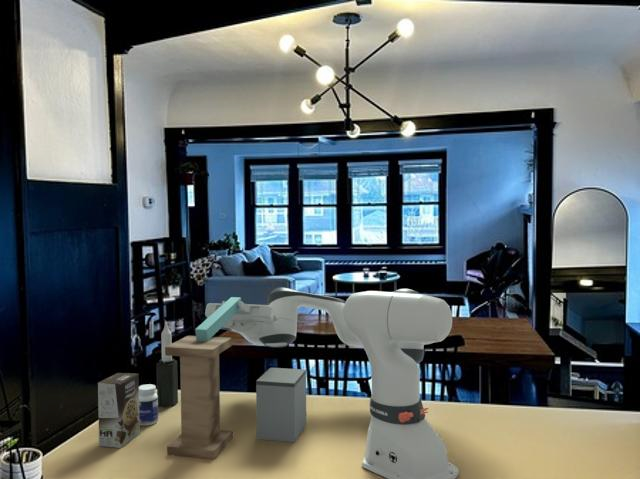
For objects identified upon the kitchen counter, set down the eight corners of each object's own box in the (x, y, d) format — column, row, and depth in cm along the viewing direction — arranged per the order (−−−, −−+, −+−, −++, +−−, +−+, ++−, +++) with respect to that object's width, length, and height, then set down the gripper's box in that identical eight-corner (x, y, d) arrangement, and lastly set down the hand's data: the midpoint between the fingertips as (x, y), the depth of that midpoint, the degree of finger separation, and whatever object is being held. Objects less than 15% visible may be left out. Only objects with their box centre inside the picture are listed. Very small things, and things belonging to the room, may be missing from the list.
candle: (155, 406, 162) (154, 323, 161) (163, 400, 167) (161, 320, 166) (172, 407, 162) (170, 323, 160) (179, 401, 167) (177, 320, 165)
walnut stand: (189, 434, 142) (188, 335, 141) (233, 438, 139) (231, 337, 138) (167, 454, 130) (165, 347, 129) (214, 459, 128) (212, 349, 126)
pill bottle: (132, 425, 148) (131, 389, 148) (142, 417, 154) (141, 382, 153) (152, 426, 147) (151, 390, 147) (161, 418, 153) (161, 383, 152)
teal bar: (231, 306, 158) (231, 297, 157) (241, 307, 157) (240, 297, 157) (196, 340, 135) (195, 329, 135) (207, 341, 135) (206, 329, 134)
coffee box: (121, 448, 134) (120, 383, 133) (98, 446, 135) (96, 382, 134) (141, 433, 143) (139, 372, 142) (118, 431, 144) (117, 371, 143)
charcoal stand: (271, 421, 151) (270, 367, 150) (306, 423, 149) (305, 369, 148) (256, 438, 139) (256, 380, 138) (294, 442, 137) (294, 383, 136)
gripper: (278, 331, 162) (265, 315, 150) (214, 328, 167) (196, 313, 155) (281, 311, 165) (268, 294, 153) (217, 308, 169) (200, 292, 157)
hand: (231, 303), depth 154 cm, fingers closed on teal bar, 3 cm apart
